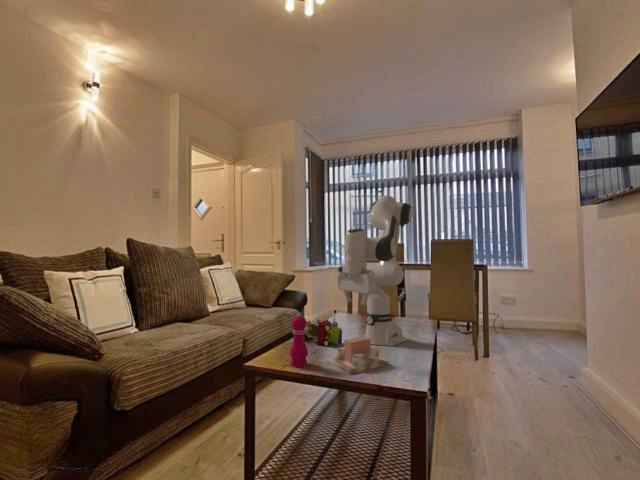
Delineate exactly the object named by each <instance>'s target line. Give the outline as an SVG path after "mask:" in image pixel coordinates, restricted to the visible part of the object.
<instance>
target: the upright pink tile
mask: <svg viewBox="0 0 640 480" xmlns="http://www.w3.org/2000/svg"><path fill="white" fill-rule="evenodd" d="M371 345H372V344H371V339H369V338H366V337H365V336H360V337H356V338H349V339H345V340H344V347H345V361H346V362H348V363H350V364H352V355H354V354H359V353H364V352H369V351H372V349H371V348H372V347H371Z"/></svg>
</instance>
